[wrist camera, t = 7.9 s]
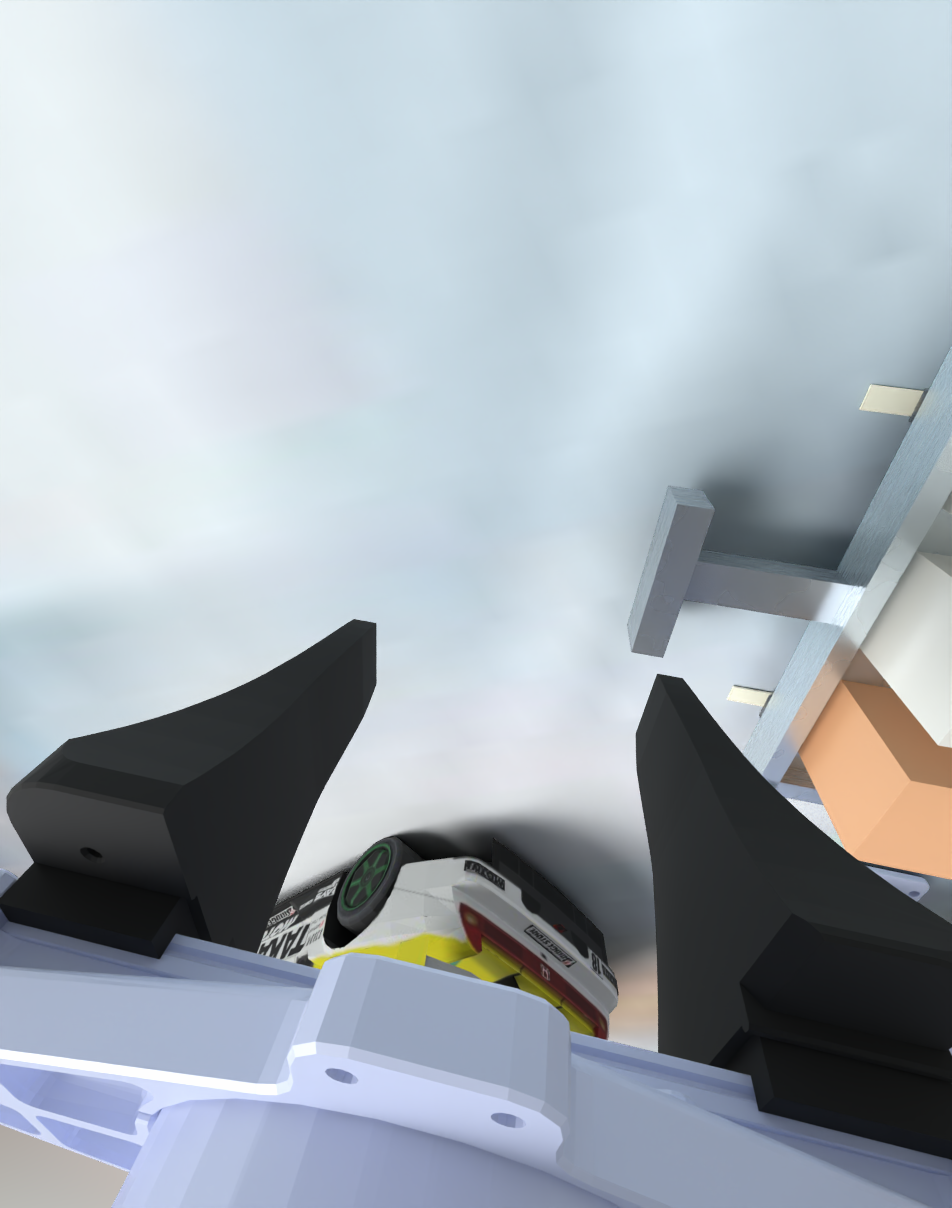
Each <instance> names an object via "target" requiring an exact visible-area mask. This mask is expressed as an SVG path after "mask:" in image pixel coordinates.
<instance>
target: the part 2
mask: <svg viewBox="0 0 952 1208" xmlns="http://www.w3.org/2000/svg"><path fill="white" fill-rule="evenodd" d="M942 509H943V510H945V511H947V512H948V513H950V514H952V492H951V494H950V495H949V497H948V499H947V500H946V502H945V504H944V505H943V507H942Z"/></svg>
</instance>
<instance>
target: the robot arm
mask: <svg viewBox="0 0 952 1208" xmlns="http://www.w3.org/2000/svg"><path fill="white" fill-rule="evenodd" d="M375 686H376V623H372V622H367V621H361V620H356V619H353V620H352V621H350V622H348V623H347V624H345V625H344V626H342V627H341V628H339V629H338V630H336V631H335V632H333V633H332V634H330V635H329V636H327V637H326V638H324V639H323V640H321V641H319V642H318V643H316V644H315V645H313V646H312V647H310V648H308V649H307V650H305V651H304V652H302V653H301V654H299V655H297V656H296V657H294V658H292V659H290V660H289V661H287V662H285V663H283V664H282V665H280V666H278V667H276V668H274V669H273V670H271V671H269V672H267V673H266V674H264V675H262V676H260V677H258V678H256V679H254V680H252V681H250V682H248V683H246V684H244V685H241V686H239V687H237V688H235V689H233V690H230V691H228V692H226V693H224V694H221V695H219V696H216V697H214V698H211V699H208V700H206V701H203V702H200V703H198V704H195V705H193V706H190V707H187V708H185V709H182V710H179V711H176V712H173V713H170V714H167V715H163V716H160V717H157V718H154V719H150V720H147V721H143V722H140V723H136V724H133V725H129V726H125V727H121V728H117V729H113V730H108V731H104V732H100V733H95V734H91V735H87V736H83V737H78V738H73V739H69V740H67V741H66V742H65V743H64V744H63V745H61V746H60V747H59V748H58V749H57V750H56V751H54V752H53V753H52V754H51V755H50V756H49V757H47V758H46V759H45V760H44V761H43V762H42V763H41V764H39V765H38V766H37V767H36V768H35V769H34V770H32V771H31V772H30V773H29V774H28V775H27V776H25V777H24V778H23V779H22V780H21V781H20V782H19V783H17V784H16V785H15V786H14V787H13V788H12V789H11V790H10V792H9V794H8V795H7V813H8V816H9V818H10V821H11V823H12V825H13V827H14V828H15V830H16V832H17V833H18V835H19V837H20V839H21V840H22V842H23V844H24V846H25V847H26V849H27V851H28V852H29V854H30V856H31V858H32V859H33V861H34V863H33V864H32V865H31V866H30V868H29V869H28V870H27V871H26V872H25V873H24V874H23V875H22V876H21V877H20V878H18V877H17V876H16V875H14V874H13V873H11V872H9V871H8V870H5V869H2V868H0V1125H3V1126H6V1127H8V1128H11V1129H14V1130H16V1131H19V1132H22V1133H25V1134H27V1135H30V1136H33V1137H35V1138H38V1139H41V1140H44V1141H46V1142H49V1143H52V1144H54V1145H57V1146H60V1147H62V1148H65V1149H68V1150H70V1151H73V1152H76V1153H78V1154H81V1155H84V1156H87V1157H89V1158H92V1159H95V1160H97V1161H100V1162H103V1163H105V1164H108V1165H111V1166H113V1167H116V1168H119V1169H122V1170H124V1171H127V1172H129V1174H128V1176H127V1178H126V1180H125V1182H124V1184H123V1185H122V1187H121V1190H120V1191H119V1193H118V1195H117V1197H116V1199H115V1201H114V1203H113V1205H112V1207H111V1208H952V924H950V923H949V922H947V921H946V920H944V919H943V918H941V917H939V916H938V915H936V914H935V913H933V912H932V911H930V910H929V909H927V908H926V907H924V906H923V905H921V904H920V903H918V901H919V900H920V898H921V897H922V896H923V895H924V894H925V893H926V892H927V891H928V890H929V888H930V887H929V884H928V883H927V881H926V880H925V879H924V878H922V877H918V876H913V875H909V874H904V873H899V872H894V871H889V870H884V869H880V868H875V867H870V866H865V865H864V864H863V863H861V862H860V861H859V860H857V859H856V858H855V857H853V856H852V855H851V854H850V853H848V852H847V851H846V850H844V849H843V848H842V847H841V846H839V845H838V844H837V843H836V842H834V841H833V840H832V839H831V838H830V837H828V836H827V835H826V834H825V833H824V832H822V831H821V830H820V829H819V828H818V827H817V826H815V825H814V824H813V823H812V822H811V821H809V820H808V819H807V818H806V817H805V816H804V815H803V814H802V813H800V812H799V811H798V810H797V809H796V808H795V807H794V806H793V805H792V804H791V803H790V802H789V801H788V800H787V799H786V798H784V797H783V796H782V795H781V794H780V793H779V792H778V791H777V790H776V789H775V788H774V787H773V786H772V785H771V784H770V783H769V782H768V781H767V780H766V779H765V778H764V777H763V776H762V775H761V774H760V773H759V771H758V770H757V769H756V768H755V767H754V766H753V765H752V764H751V763H750V762H749V760H748V759H747V758H746V757H745V756H744V755H743V754H742V753H741V752H740V750H739V749H738V748H737V747H736V746H735V745H734V743H733V742H732V741H731V740H730V739H729V737H728V736H727V735H726V734H725V732H724V731H723V730H722V729H721V727H720V726H719V725H718V724H717V722H716V721H715V720H714V719H713V717H712V716H711V715H710V713H709V712H708V711H707V710H706V708H705V707H704V706H703V704H702V703H701V702H700V700H699V699H698V698H697V696H696V695H695V694H694V692H693V691H692V690H691V688H690V687H689V686H688V685H687V683H686V682H685V681H684V680H683V678H678V677H672V676H667V675H661V674H657V676H656V679H655V681H654V684H653V687H652V690H651V693H650V695H649V698H648V701H647V704H646V707H645V709H644V712H643V715H642V718H641V721H640V723H639V726H638V729H637V732H636V764H637V776H638V782H639V788H640V795H641V801H642V807H643V813H644V819H645V825H646V831H647V837H648V843H649V849H650V855H651V863H652V871H653V885H654V901H655V919H656V943H657V976H658V1053H657V1052H653V1051H649V1050H645V1049H641V1048H637V1047H633V1046H629V1045H625V1044H621V1043H617V1042H612V1041H608V1040H604V1039H600V1038H596V1037H592V1036H588V1035H584V1034H580V1033H576V1032H572V1031H570V1026H569V1021H568V1020H567V1019H566V1018H565V1016H564V1015H563V1014H562V1013H561V1012H560V1011H558V1010H557V1009H556V1008H555V1007H554V1006H553V1005H551V1004H550V1003H549V1002H548V1001H547V1000H545V999H543V998H540V997H538V996H535V995H533V994H530V993H527V992H525V991H522V990H519V989H517V988H513V987H508V986H504V985H500V984H496V983H492V982H488V981H484V980H479V979H475V978H471V977H467V976H463V975H459V974H455V973H450V972H446V971H442V970H438V969H434V968H430V967H426V966H422V965H417V964H413V963H409V962H405V961H401V960H397V959H393V958H388V957H384V956H380V955H372V954H363V953H353V952H351V953H347V954H344V955H341V956H337V957H334V958H331V959H329V960H327V961H325V962H324V964H323V966H322V969H317V968H313V967H309V966H305V965H301V964H297V963H293V962H289V961H285V960H281V959H277V958H272V957H268V956H264V955H260V954H257V952H258V950H259V947H260V944H261V941H262V938H263V936H264V933H265V930H266V927H267V925H268V922H269V919H270V916H271V914H272V911H273V909H274V906H275V903H276V901H277V898H278V895H279V893H280V890H281V888H282V885H283V882H284V880H285V877H286V875H287V872H288V870H289V867H290V865H291V862H292V860H293V857H294V855H295V853H296V850H297V848H298V845H299V843H300V840H301V838H302V835H303V833H304V831H305V829H306V826H307V824H308V822H309V819H310V817H311V815H312V812H313V810H314V808H315V805H316V803H317V801H318V799H319V797H320V795H321V793H322V791H323V789H324V787H325V785H326V783H327V782H328V780H329V778H330V776H331V774H332V773H333V771H334V769H335V767H336V766H337V764H338V762H339V760H340V758H341V757H342V755H343V753H344V751H345V750H346V748H347V746H348V744H349V742H350V741H351V739H352V737H353V735H354V733H355V732H356V730H357V728H358V726H359V724H360V722H361V721H362V719H363V717H364V714H365V712H366V710H367V707H368V705H369V702H370V700H371V697H372V694H373V692H374V689H375Z"/></svg>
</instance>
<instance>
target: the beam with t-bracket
mask: <svg viewBox="0 0 952 1208" xmlns="http://www.w3.org/2000/svg"><path fill="white" fill-rule="evenodd" d="M909 422H911V423H912V424H911V426H910V428H909V430H908V432H907V434H906V436H905V438H904V440H903V442H902V444H901V445H900V447H899V449H898V451H897V453H896V455H895V457H894V459H893V461H892V463H891V465H890V467H889V469H888V471H887V473H886V475H885V477H884V479H883V481H882V482H881V484H880V486H879V488H878V490H877V492H876V494H875V496H874V498H873V500H872V502H871V504H870V506H869V508H868V510H867V512H866V514H865V516H864V518H863V519H862V521H861V523H860V525H859V527H858V529H857V531H856V533H855V535H854V537H853V539H852V541H851V543H850V545H849V547H848V549H847V551H846V553H845V555H844V556H843V558H842V560H841V562H840V564H839V566H838V568H837V570H831V569H825V568H818V567H812V566H805V565H799V564H793V563H786V562H780V561H773V560H767V559H760V558H754V557H747V556H741V555H735V554H728V553H722V552H715V551H709V550H702V546H703V543H704V540H705V537H706V534H707V532H708V529H709V526H710V523H711V520H712V517H713V515H714V512H715V509H714V507H713V506H712V504H711V503H710V501H709V499H708V498H707V496H706V495H705V493H704V492H703V491H702V490H695V489H688V488H681V487H674V486H668V489H667V492H666V496H665V499H664V503H663V506H662V509H661V513H660V516H659V519H658V523H657V526H656V530H655V533H654V536H653V540H652V543H651V546H650V550H649V553H648V556H647V560H646V563H645V567H644V570H643V573H642V577H641V580H640V583H639V587H638V590H637V594H636V597H635V600H634V604H633V607H632V610H631V614H630V617H629V621H628V624H627V626H628V633H629V639H630V646H631V652H634V653H639V654H645V655H651V656H656V657H662V658H663V656H664V653H665V651H666V648H667V645H668V642H669V639H670V636H671V634H672V631H673V628H674V625H675V622H676V619H677V617H678V614H679V611H680V608H681V605H682V602H683V600H690V601H696V602H702V603H708V604H714V605H720V606H726V607H732V608H738V609H744V610H750V611H756V612H762V613H768V614H774V615H781V616H787V617H793V618H799V619H805V620H811V621H810V623H809V625H808V627H807V629H806V631H805V632H804V634H803V636H802V638H801V640H800V642H799V644H798V646H797V648H796V650H795V652H794V654H793V656H792V658H791V660H790V662H789V664H788V666H787V668H786V669H785V671H784V673H783V675H782V677H781V679H780V681H779V683H778V685H777V687H776V689H775V691H774V693H773V694H771V695H769V696H768V698H767V700H766V702H765V704H764V706H763V708H762V710H761V712H760V714H759V716H760V720H759V722H758V724H757V726H756V728H755V730H754V732H753V734H752V736H751V738H750V740H749V742H748V744H747V745H746V747H745V749H744V751H743V753H742V754H743V755H744V756H745V757H746V758H747V759H748V760H749V762H750V763H751V764H752V765H753V766H754V767H755V768H756V769H757V770H758V771H759V773H760V774H761V775H762V776H763V777H764V778H765V779H766V780H767V781H768V782H769V783H770V784H771V785H772V786H773V787H774V788H775V789H776V790H777V791H778V792H779V793H780V794H781V795H782V796H783V797H786V798H791V799H796V800H801V801H806V802H811V803H816V804H821V805H824V804H823V802H822V800H821V798H820V796H819V794H818V792H817V790H816V788H815V786H814V784H813V782H812V780H811V778H810V776H809V774H808V771H807V769H806V767H805V765H804V763H803V761H802V759H801V757H800V755H799V753H798V751H799V750H800V748H801V746H802V745H803V743H804V741H805V739H806V738H807V736H808V734H809V733H810V731H811V729H812V728H813V726H814V724H815V723H816V721H817V719H818V717H819V716H820V714H821V712H822V711H823V709H824V707H825V706H826V704H827V702H828V700H829V699H830V697H831V695H832V694H833V692H834V690H835V689H836V687H837V685H838V684H839V682H840V680H846V681H852V682H858V683H863V684H869V685H875V686H880V687H886V688H891V686H890V685H889V684H888V683H887V682H886V680H885V679H884V678H883V677H882V675H881V674H880V673H879V672H878V670H877V669H876V668H875V667H874V665H873V664H872V663H871V662H870V660H869V659H868V658H867V657H866V655H865V654H864V653H863V652H862V650H861V649H860V646H861V644H862V643H863V641H864V639H865V637H866V636H867V634H868V632H869V631H870V629H871V627H872V626H873V624H874V622H875V621H876V619H877V617H878V615H879V614H880V612H881V610H882V609H883V607H884V605H885V604H886V602H887V600H888V598H889V597H890V595H891V593H892V592H893V590H894V588H895V587H896V585H897V583H898V582H899V580H900V578H901V576H902V575H903V573H904V571H905V570H906V568H907V566H908V565H909V563H910V561H911V560H912V558H913V556H914V554H915V553H916V551H919V552H926V553H932V554H939V555H946V556H952V514H950V513H948V512H947V511H945V510H943V509H942V507H943V505H944V504H945V502H946V500H947V499H948V497H949V495H950V494H951V492H952V346H951V348H950V350H949V352H948V354H947V356H946V358H945V360H944V362H943V364H942V366H941V368H940V369H939V371H938V373H937V375H936V377H935V379H934V381H933V383H932V385H931V387H930V389H924V391H923V393H922V395H921V397H920V399H919V401H918V403H917V405H916V407H915V409H914V411H913V413H912V415H911V417H910V419H909Z"/></svg>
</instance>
